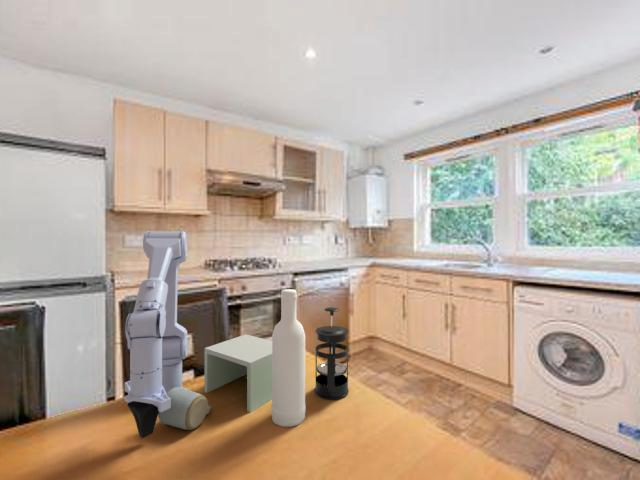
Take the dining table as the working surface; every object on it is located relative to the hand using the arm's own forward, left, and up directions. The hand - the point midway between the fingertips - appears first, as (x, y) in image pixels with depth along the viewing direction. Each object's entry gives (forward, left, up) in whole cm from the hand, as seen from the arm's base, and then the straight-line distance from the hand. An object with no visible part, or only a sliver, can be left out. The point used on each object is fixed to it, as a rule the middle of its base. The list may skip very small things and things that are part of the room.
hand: (146, 434), depth 63 cm
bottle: (+18, +24, -2) cm, 30 cm away
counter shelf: (0, +28, -2) cm, 28 cm away
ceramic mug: (0, +9, -2) cm, 10 cm away
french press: (+20, +40, -2) cm, 44 cm away
